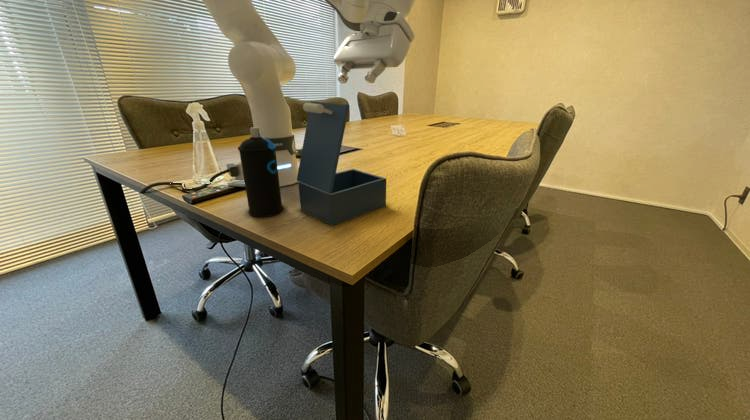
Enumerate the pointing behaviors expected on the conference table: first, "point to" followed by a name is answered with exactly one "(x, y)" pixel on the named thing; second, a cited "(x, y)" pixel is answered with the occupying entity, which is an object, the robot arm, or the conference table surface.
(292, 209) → the conference table surface
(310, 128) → the lid
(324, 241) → the conference table surface
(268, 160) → the aerosol can
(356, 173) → the box
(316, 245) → the conference table surface
